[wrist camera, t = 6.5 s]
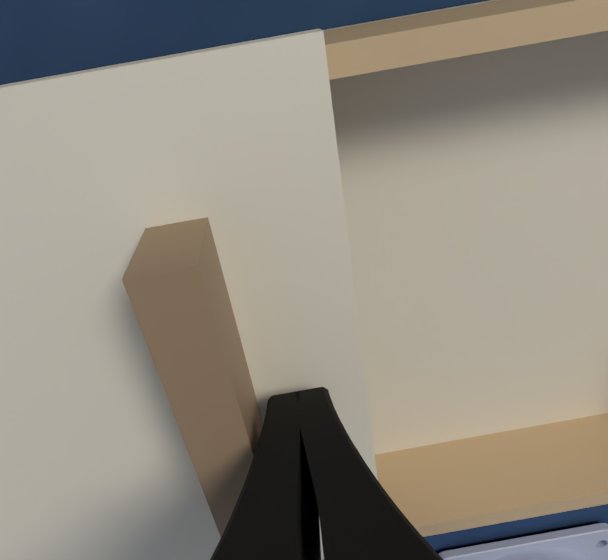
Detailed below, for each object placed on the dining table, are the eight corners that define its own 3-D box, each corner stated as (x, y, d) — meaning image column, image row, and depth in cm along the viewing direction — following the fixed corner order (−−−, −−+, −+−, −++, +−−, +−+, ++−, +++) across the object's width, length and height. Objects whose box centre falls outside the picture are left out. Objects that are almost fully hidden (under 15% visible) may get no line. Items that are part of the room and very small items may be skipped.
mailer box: (657, 406, 20) (731, 481, 17) (148, 497, 20) (128, 589, 17) (776, -51, 12) (951, -66, 9) (-42, 94, 12) (-139, 127, 9)
